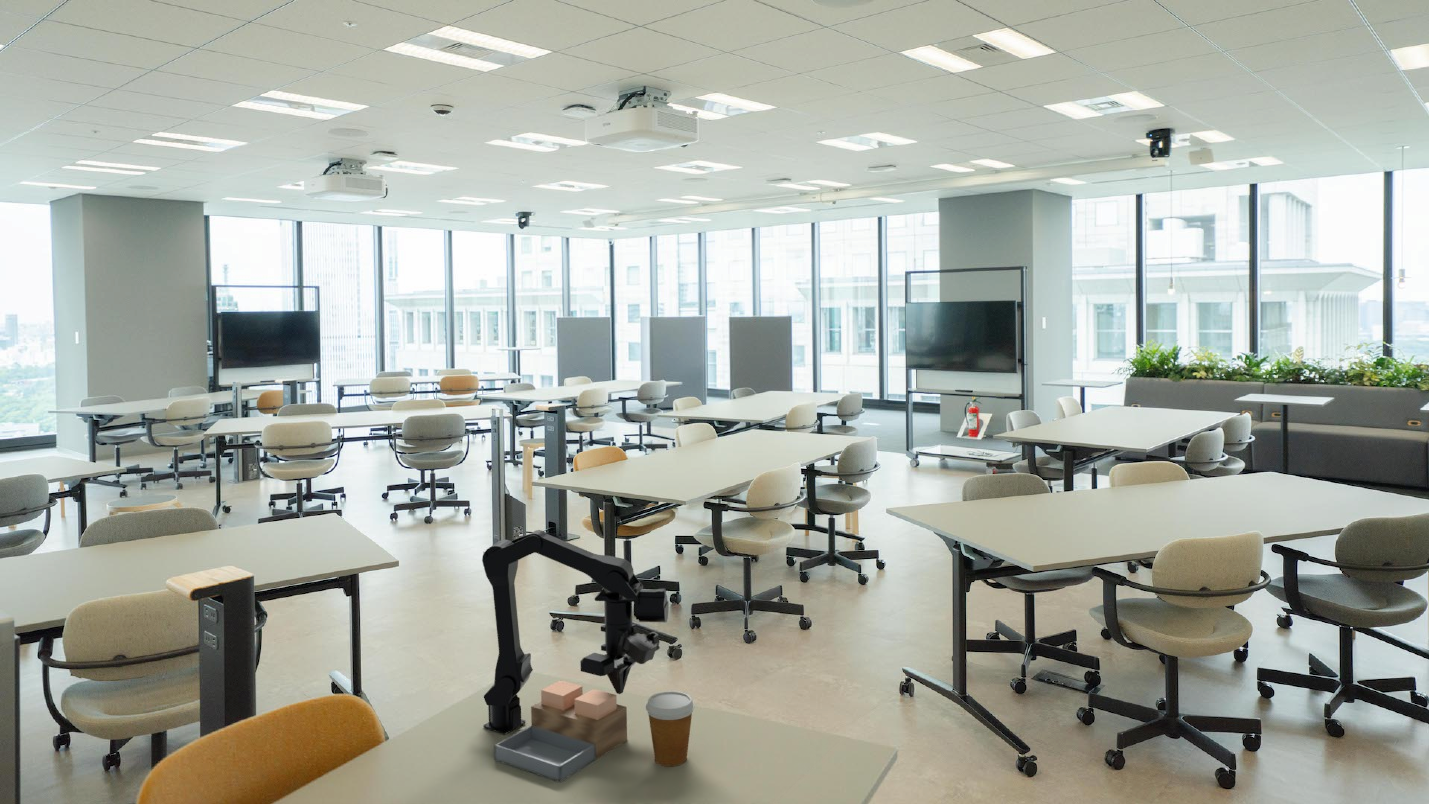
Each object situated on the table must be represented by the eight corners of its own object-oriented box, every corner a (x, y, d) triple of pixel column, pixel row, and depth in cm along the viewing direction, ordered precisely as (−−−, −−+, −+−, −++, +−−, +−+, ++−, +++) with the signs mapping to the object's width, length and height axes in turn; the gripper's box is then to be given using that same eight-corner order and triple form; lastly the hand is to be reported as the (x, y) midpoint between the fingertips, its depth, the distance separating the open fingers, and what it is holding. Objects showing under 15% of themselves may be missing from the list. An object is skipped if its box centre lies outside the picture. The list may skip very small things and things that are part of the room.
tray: (494, 760, 178) (494, 745, 178) (531, 739, 187) (531, 725, 187) (560, 782, 169) (559, 766, 169) (596, 759, 178) (595, 744, 178)
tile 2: (574, 713, 183) (574, 699, 182) (593, 703, 188) (593, 689, 188) (597, 720, 180) (597, 705, 179) (616, 709, 185) (616, 694, 184)
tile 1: (541, 704, 187) (541, 690, 187) (560, 694, 193) (560, 680, 192) (563, 710, 184) (563, 696, 184) (582, 700, 189) (582, 686, 189)
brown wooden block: (531, 739, 187) (531, 706, 186) (564, 721, 195) (563, 690, 195) (596, 759, 178) (595, 725, 177) (627, 739, 186) (626, 706, 186)
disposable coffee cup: (688, 772, 172) (688, 711, 171) (640, 768, 174) (639, 707, 173) (699, 750, 182) (699, 692, 181) (653, 746, 183) (653, 688, 182)
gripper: (621, 640, 177) (622, 718, 178) (675, 614, 193) (676, 686, 194) (577, 631, 183) (579, 706, 184) (633, 606, 199) (634, 676, 200)
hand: (619, 693), depth 190 cm, fingers closed
